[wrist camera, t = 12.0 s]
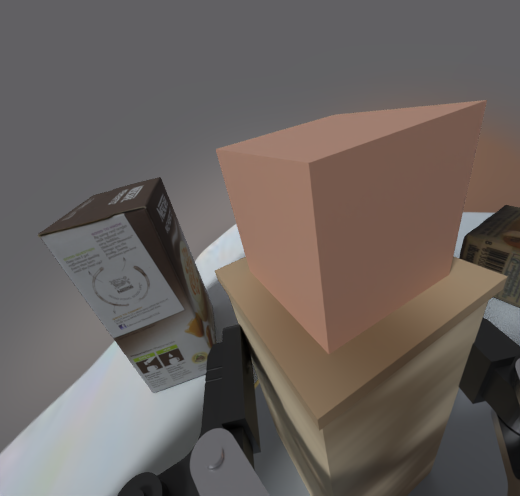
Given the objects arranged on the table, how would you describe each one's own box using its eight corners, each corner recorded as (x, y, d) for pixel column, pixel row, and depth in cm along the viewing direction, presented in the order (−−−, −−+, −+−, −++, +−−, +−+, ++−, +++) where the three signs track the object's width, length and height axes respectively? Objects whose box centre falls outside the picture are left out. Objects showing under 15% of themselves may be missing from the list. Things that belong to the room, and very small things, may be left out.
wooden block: (347, 377, 17) (338, 214, 11) (435, 473, 12) (507, 276, 6) (273, 431, 15) (214, 271, 9) (343, 567, 10) (317, 419, 4)
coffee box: (222, 369, 23) (146, 205, 15) (151, 395, 22) (31, 237, 14) (213, 304, 31) (161, 174, 23) (161, 322, 30) (88, 194, 22)
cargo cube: (340, 228, 10) (334, 114, 8) (448, 274, 7) (486, 100, 5) (249, 270, 9) (215, 148, 7) (329, 354, 5) (308, 162, 3)
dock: (307, 340, 23) (303, 317, 22) (524, 441, 14) (543, 415, 13) (185, 518, 15) (165, 500, 13) (543, 1047, 6) (607, 1176, 4)
